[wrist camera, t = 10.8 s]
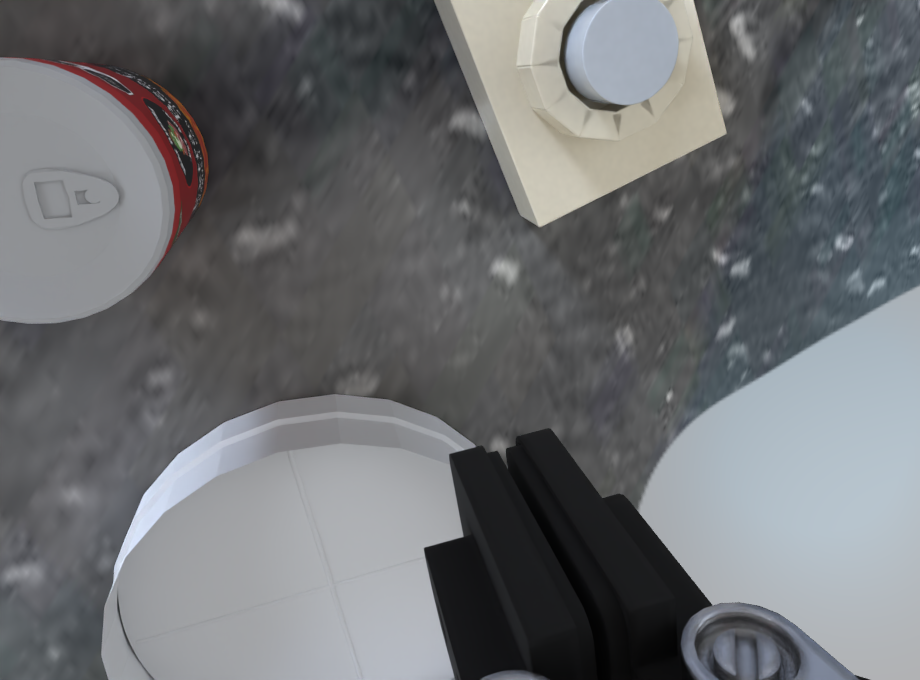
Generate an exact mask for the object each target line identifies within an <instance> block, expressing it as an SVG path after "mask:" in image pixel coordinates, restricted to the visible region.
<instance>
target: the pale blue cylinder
mask: <svg viewBox="0 0 920 680" xmlns="http://www.w3.org/2000/svg"><path fill="white" fill-rule="evenodd" d="M678 47H679V40H678V32H677V28H676V25H675V22H674V19H673V17H672V15H671V14H670V12H669V11H668V9H667V8H666V7H665V6H664V5H663V4H662V3H661V2H660V1H659V0H599V1H596V2H594V3H592V4H590V5H589V6H587V7H586V8H585V9H584V10H583V11H582V12H581V13H580V14H579V15H578V16H577V17H576V18H575V20H574V21H573V23H572V25H571V27H570V29H569V31H568V34H567V37H566V40H565V45H564V64H565V69H566V73H567V75H568V78H569V80H570V82H571V83H572V85H573V86H574V88H575V89H576V90H577V91H578V92H579V93H580V94H581V95H582V96H584V97H585V98H587V99H589V100H591V101H593V102H597V103H603V104H615V105H634V104H638V103H641V102H643V101H646V100H647V99H649V98H651V97H652V96H654V95H655V94H656V93H657V92H658V91H659V90H660V89H661V88H662V87H663V86H664V85H665V84H666V82H667V81H668V79H669V78H670V76H671V74H672V72H673V70H674V67H675V64H676V60H677V56H678Z"/></svg>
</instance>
